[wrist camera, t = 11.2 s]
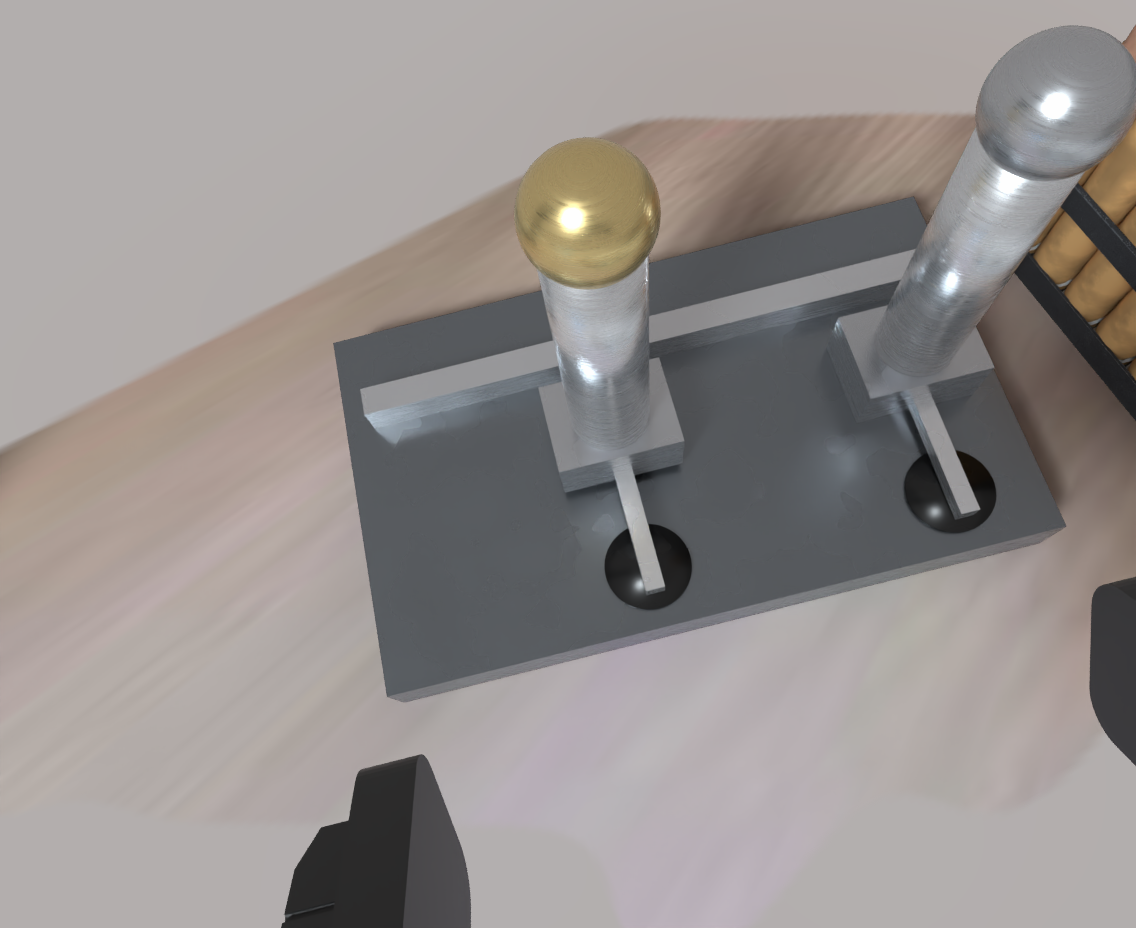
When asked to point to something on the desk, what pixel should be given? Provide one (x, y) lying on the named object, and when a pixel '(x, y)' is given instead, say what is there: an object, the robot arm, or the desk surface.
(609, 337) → the gold topped lever
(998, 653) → the desk surface
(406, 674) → the plate
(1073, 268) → the ammunition clip
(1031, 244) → the silver ball-topped post
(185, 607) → the desk surface
